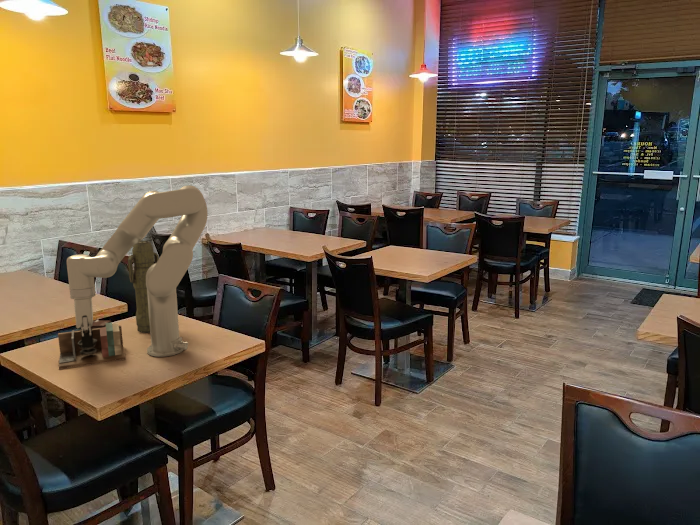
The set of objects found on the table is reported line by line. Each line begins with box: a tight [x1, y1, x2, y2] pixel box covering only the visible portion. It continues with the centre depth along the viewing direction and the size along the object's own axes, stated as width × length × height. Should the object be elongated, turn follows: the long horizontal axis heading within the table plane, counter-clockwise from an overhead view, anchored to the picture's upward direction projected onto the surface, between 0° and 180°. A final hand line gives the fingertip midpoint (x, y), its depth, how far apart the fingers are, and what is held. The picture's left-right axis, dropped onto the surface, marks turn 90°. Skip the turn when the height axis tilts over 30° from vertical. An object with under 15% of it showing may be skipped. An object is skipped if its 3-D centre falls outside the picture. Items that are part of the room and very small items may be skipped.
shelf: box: [57, 322, 126, 370], centre depth 184 cm, size 20×13×10 cm, turn 116°
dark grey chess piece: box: [78, 325, 97, 355], centre depth 182 cm, size 6×6×12 cm
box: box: [91, 320, 112, 329], centre depth 199 cm, size 6×6×7 cm
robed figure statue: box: [127, 240, 160, 334], centre depth 209 cm, size 9×12×35 cm
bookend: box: [58, 329, 76, 365], centre depth 181 cm, size 5×9×8 cm, turn 26°
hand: (87, 343), depth 182 cm, fingers closed on dark grey chess piece, 5 cm apart
